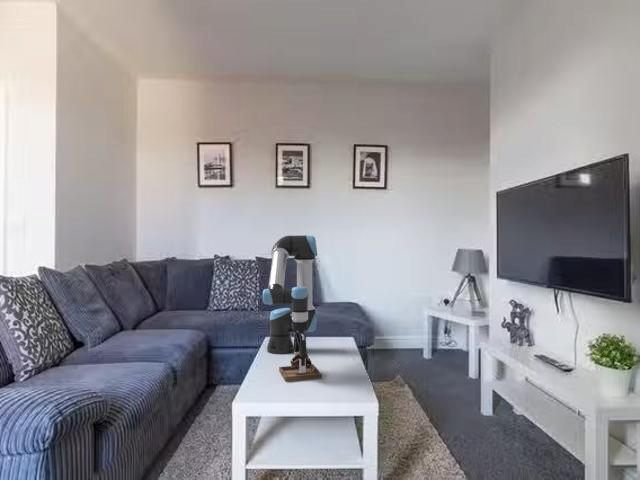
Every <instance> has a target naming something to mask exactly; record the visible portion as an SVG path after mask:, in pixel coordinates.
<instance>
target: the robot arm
mask: <svg viewBox="0 0 640 480" xmlns="http://www.w3.org/2000/svg"><path fill="white" fill-rule="evenodd" d="M316 240H317V239H316V237H315V236H314V235H307V234H305V235H285V236H283V237H281V238H279V239H278V240H277V241H276V242H275V243H274V245H273V247H272V248H271V254H270V255H271V259H272V260H271V266H270V273H269V281H268V287H267V288H264V289H263V290H262V303H263V304H264V305H272V306H273V305H274V306H275V305H286V306H287V305H291V308H290V307H282V308H276V309H273V310H272V311H270V313H269V339H268V342H267V346H266V352H267V353H269V354H276V355H277V354H278V355H281V354H289V353H292V352H294V357H295V356H296V355H298V354H300V357H299V358H298V359H297V360H299V373H306V358H307V355H308V353H307V352H308V351H307V349H308V348H307V335H306V334H305V333H309V332H311V333H312V332H314V331H316V328H317V320H318V313H319V311H318V310H316V307H315V306H314V305H313V262H314V261H315V260H316V258H317V257H318V249H317V241H316ZM289 257H293V258H294V261H295V262H296V286H294V287H292V288H285V287H284V286H285V279H286V276H285V275H286V268H287V267H286V266H287V260H288V259H289ZM292 332H293V335H294V336H293V339H292ZM297 360H295V361H297ZM295 361H294V362H295Z"/></svg>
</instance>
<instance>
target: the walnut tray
mask: <svg viewBox="0 0 640 480" xmlns="http://www.w3.org/2000/svg"><path fill="white" fill-rule="evenodd" d="M312 366H313V370H312V371H311V369H310V368H309V365H306V373H299V367H294V369H292V368H291V365H287V366H279V367H278V372H279V373H280V375H281V377H282V378H283V380H284V382H285V383H288V382H299V381H308V380H309V381H310V380H319V379H323V374H322V372H321V371H320V370H319V369H318V368H317V367H316V365H315V364H313V363H312Z"/></svg>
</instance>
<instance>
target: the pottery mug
mask: <svg viewBox="0 0 640 480" xmlns="http://www.w3.org/2000/svg"><path fill="white" fill-rule="evenodd" d="M299 357H300V354H298V355H296V356H295V355H294V357H292V358H291V360H290V362H289V363H290V366H291V368H292V369H294V367H299V360H297V359H298V358H299ZM295 360H297V361H295ZM312 364H313V363H312V361H311V358H309V354H307V358H306V365H309V368H310V369H311V371H312V370H313V366H312Z"/></svg>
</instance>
